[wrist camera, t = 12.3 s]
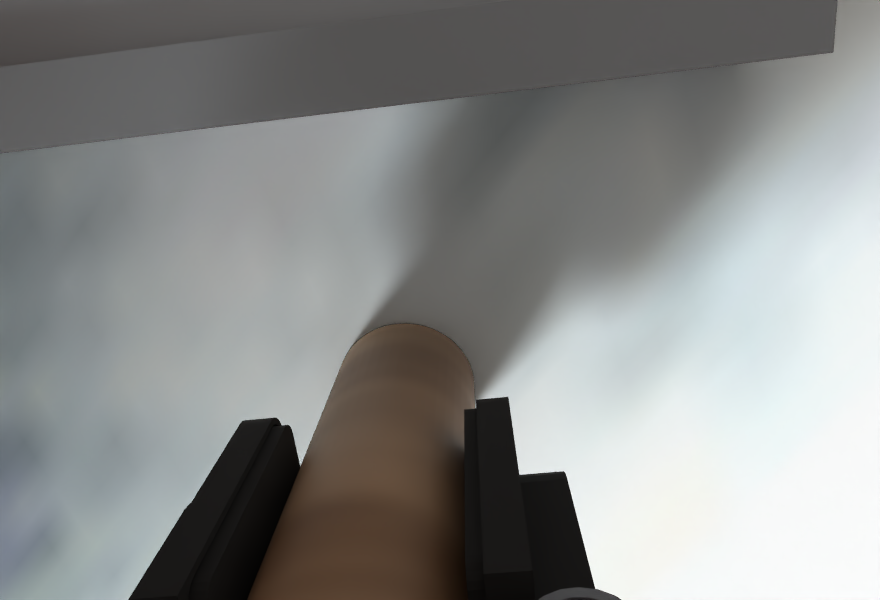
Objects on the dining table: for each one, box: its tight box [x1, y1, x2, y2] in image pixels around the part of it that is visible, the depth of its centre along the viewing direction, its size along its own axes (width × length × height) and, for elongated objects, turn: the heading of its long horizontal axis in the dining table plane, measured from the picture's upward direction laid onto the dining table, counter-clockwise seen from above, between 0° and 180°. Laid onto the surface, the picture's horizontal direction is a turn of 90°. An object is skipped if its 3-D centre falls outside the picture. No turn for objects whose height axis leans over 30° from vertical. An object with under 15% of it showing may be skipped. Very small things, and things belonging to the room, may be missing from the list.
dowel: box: [247, 323, 475, 600], centre depth 9 cm, size 3×3×12 cm
